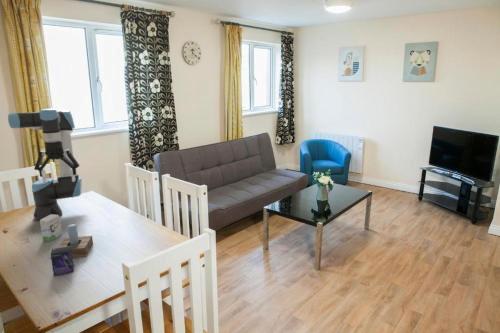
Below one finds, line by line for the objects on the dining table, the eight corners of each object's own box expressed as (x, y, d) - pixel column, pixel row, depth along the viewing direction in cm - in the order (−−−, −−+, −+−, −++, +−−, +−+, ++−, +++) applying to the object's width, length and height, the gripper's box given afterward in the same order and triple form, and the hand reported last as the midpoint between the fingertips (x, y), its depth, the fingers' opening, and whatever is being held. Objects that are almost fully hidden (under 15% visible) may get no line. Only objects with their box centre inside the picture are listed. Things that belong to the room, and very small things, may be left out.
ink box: (54, 233, 189) (51, 213, 186) (62, 234, 188) (59, 214, 185) (42, 240, 181) (38, 220, 178) (51, 241, 180) (47, 220, 177)
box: (53, 276, 149) (49, 254, 146) (54, 270, 154) (51, 248, 151) (74, 272, 152) (70, 250, 149) (74, 266, 157) (71, 244, 154)
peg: (72, 250, 171) (68, 224, 167) (81, 249, 172) (77, 223, 168) (70, 254, 167) (65, 228, 164) (78, 253, 168) (74, 227, 164)
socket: (66, 246, 175) (64, 237, 173) (93, 244, 177) (91, 235, 175) (56, 260, 162) (55, 250, 161) (86, 257, 164) (84, 247, 163)
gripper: (21, 143, 164) (29, 185, 169) (77, 141, 168) (83, 182, 173) (28, 140, 171) (36, 181, 176) (82, 138, 175) (87, 178, 181)
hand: (59, 181), depth 175 cm, fingers open, 13 cm apart
